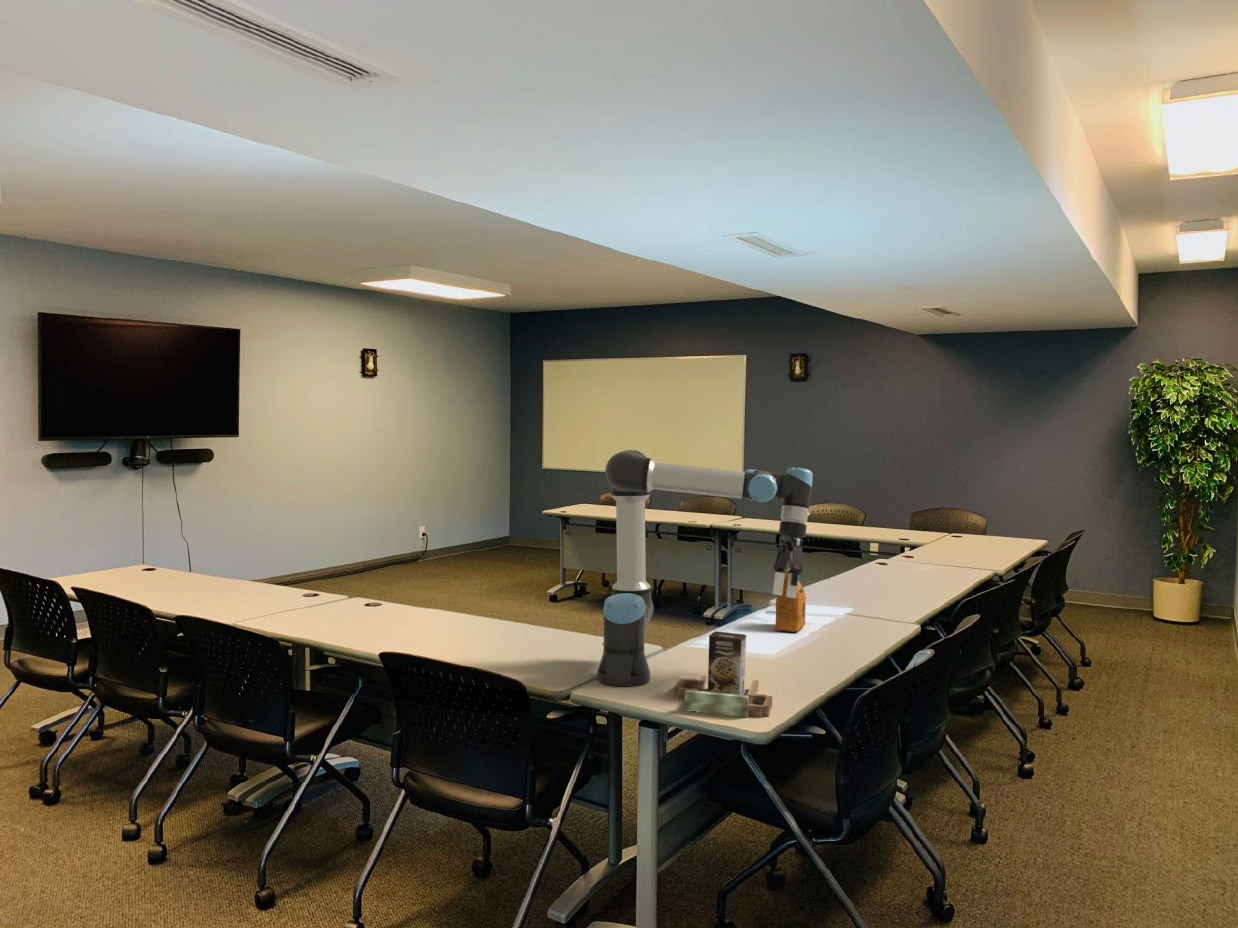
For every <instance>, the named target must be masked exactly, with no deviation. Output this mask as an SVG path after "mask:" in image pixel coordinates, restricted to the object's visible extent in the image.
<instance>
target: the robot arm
mask: <svg viewBox="0 0 1238 928" xmlns="http://www.w3.org/2000/svg"><path fill="white" fill-rule="evenodd" d="M604 470H605V471H604V472H605V477H606V480H607V482H608V484H609V486H610V496H611V498H612V499H614V500H615V503H616V504H615V506H616V507H615V509H616V511H615V512H616V516H615V517H616V582H615V583H614V584H613V585H612V586H611V587H612V589H611V595H610V596H608V597H607V598H606V599H605V600H604V605H603V609H602V610H603V650H602V651H603V653H602V655H601V659H600V661H599V665H598V667H597V672H596V673H597V674H596V679H597V681H598V682H600V683H601V684H604V685H608V686H612V685H614V686H615V687H632V686H631V685H637V686H641V685H640V684H642V685H644V683H645V684H647V683H649V682H648V681H649V680H651V671H650V667H649V663H648V660H647V657H646V653H645V628H646V627H647V625H648V624H649V622H650V621H651V620H652V616H653V614H654V604H653V603H654V602H653V600H652V587H651V586H652V585H650V583H649V582H647V579H646V578H647V575H646V574H647V573H646V568H647V567H646V565H647V564H646V562H647V561H646V500H648V498H650V496H651V491H652V490H656V491H657V490H658V491H666V492H675V493H686V494H697V495H704V496H714V497H724V498H732V499H733V498H734V499H740V500H741V499H742V500H743V499H744V500H750V501H755V502H758V503H768V502H769V501H771V500H773V499H776V500H782V505H781V511H780V519H781V521H780V522H779V529H778V533H779V535H783V536H784V538H780V540H779V547H778V550H777V553H776V556H775V557H776V558H775V560H774V563H773V567H772V568H773V570H774V578H773V586H772V587H773V588H772V595H776V596H777V595H781V596H782V592H783V585H784V577H785V574H786V572H787V570H786V568H787V565H788V563H789V568H788V569H789V571H788V573H789V577H788V585H787V593H786V597H790V598H796V596H797V588H798V581H799V580H800V579H799V578H800V575H801V573H803V571H804V565H803V563H804V562H803V560H804V559H803V543H804V540H803V539H802V538H805V537H806V534H807V528H808V527H807V525H806V524H807V522H808V517H809V516H810V515H811V514H810V512H809V510H810V504H811V503H810V502H811V496H812V495H811V494H812V489H813V476H814V474H813V472H812V471H811V470H809V469H807V468H803V467H789V468H787V470H786V472H785V473H780V472H772V471H766V470H759V469H746V470H745V471H738V470H732V469H731V470H729V469H720V468H712V467H703V466H702V467H701V466H693V465H682V464H681V465H680V464H672V463H666V462H665V463H664V462H663V463H662V462H656V460H654V459H653V458H652V457H651V458H649V457H647V456H646V455H645V454H644V453H643V452H641V451H638V450H634V449H633V450H632V449H628V450H627V449H625V450H623V451H620V452H616V453H615V454H614V455H612V456H611V457H610V458H609V459H608V461H607V463H606V465H605V469H604ZM790 573H792V574H790ZM799 582H800V581H799ZM646 682H647V683H646Z"/></svg>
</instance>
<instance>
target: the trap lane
mask: <svg viewBox="0 0 1238 928" xmlns="http://www.w3.org/2000/svg"><path fill="white" fill-rule="evenodd" d="M707 679H708V675H702V674H701V675H700V677H699V678H687V677H686V678H679V680H678V681H677V682H676V684H675V686H673V697H674V696H678V697H677V698H678V699H682V698H685V699H684V711H685V710H690V711H699V712H704V713H703V714H709V713H717V714H716V715H719V714H724V715H723V716H728V717H729V716H731V717H738V716H739V718H749V716H751V717H759V718H762V717H768V718H769V717H770V714H771V711H772V708H773V696H771V695H767V694H760V693H758V692H759V687H760V685H759V684H760V683H759V682H760V681H759V680H758V679H757V680H755V679H753V680H752V681H751V684H750V687H749V689H748V691H747V693H746V695H744V694H743V695H734V694H724V693H713V692H708V691H704V689H705V688H706V685H707ZM690 711H689V712H690ZM699 712H698V713H699Z"/></svg>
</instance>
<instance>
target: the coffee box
mask: <svg viewBox="0 0 1238 928" xmlns="http://www.w3.org/2000/svg"><path fill="white" fill-rule="evenodd" d="M746 643H747V634H743V633H735V632H734V633H732V632H726V631H718V630H717V631H716V630H715V631H713V632H711V634H709V636H708V662H707V663H708V667H707V669H708V672H707V692H713V693H724V694H734V695H744V693H745V684H746V683H745V679H746V678H745V677H746V676H745V675H746V649H747V647H746V646H747V644H746Z"/></svg>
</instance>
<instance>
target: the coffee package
mask: <svg viewBox="0 0 1238 928" xmlns="http://www.w3.org/2000/svg"><path fill="white" fill-rule="evenodd" d="M789 569H790V568H788V569H787V570H786V573H785V577H784V585H783V592H782V596H781V595H776V597H775V598H776V599H775V631H777V632H794V633H795V632H799V631H800V630H802V629H803V628H804V627H805V625H806V606H807V605H806V604H807V602H806V601H807V599H806V593H805V589H804V587H803V585H802V584H801V582H800V581H798V588H797V596H796V598H790V597H786V593H787V585H788V577H789V573H788V571H789ZM790 574H792V573H790Z"/></svg>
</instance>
